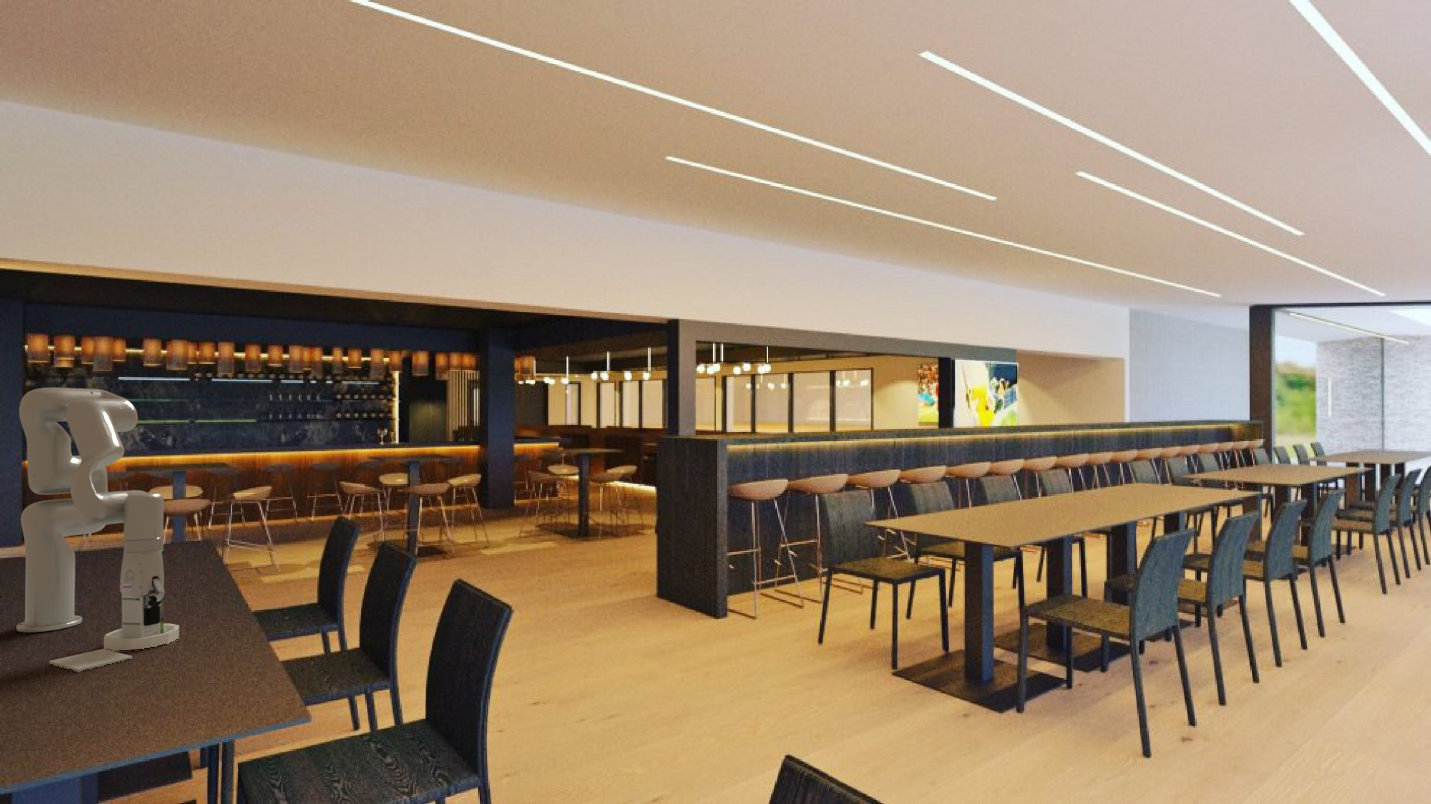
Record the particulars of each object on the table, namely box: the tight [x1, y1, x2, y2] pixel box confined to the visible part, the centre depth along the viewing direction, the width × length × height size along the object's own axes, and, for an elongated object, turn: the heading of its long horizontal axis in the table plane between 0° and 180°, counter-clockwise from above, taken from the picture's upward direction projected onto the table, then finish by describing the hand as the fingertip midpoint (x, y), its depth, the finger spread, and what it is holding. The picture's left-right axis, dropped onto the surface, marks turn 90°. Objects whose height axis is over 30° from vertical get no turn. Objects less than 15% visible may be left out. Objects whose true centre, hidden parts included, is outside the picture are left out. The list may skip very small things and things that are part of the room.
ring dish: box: [103, 623, 180, 652], centre depth 184 cm, size 14×14×2 cm
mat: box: [48, 648, 133, 673], centre depth 170 cm, size 12×10×1 cm
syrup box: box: [121, 582, 164, 639], centre depth 185 cm, size 6×6×14 cm
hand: (142, 621), depth 185 cm, fingers closed on syrup box, 6 cm apart
